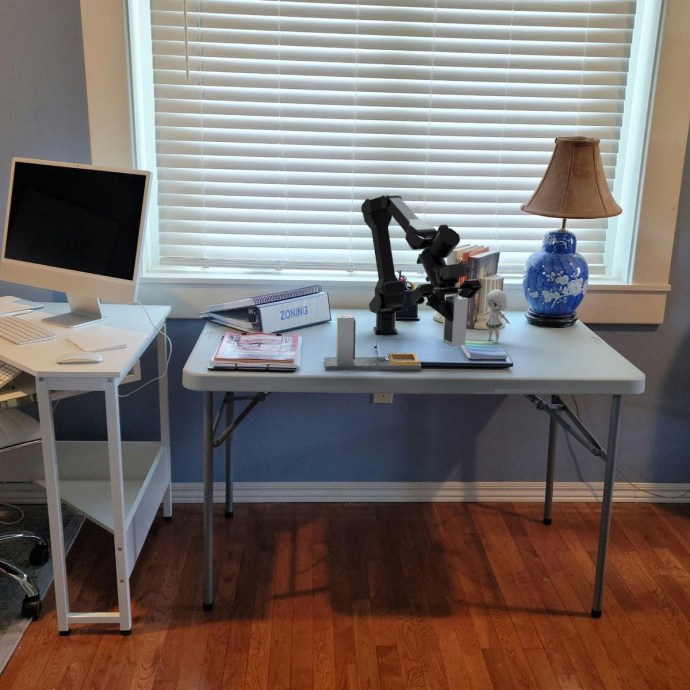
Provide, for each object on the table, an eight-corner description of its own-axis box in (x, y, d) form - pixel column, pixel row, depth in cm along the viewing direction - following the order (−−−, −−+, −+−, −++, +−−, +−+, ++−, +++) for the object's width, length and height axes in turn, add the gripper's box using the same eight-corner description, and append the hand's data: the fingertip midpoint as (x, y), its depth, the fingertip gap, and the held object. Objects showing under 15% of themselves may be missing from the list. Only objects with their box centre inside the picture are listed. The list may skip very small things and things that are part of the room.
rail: (324, 361, 200) (324, 312, 197) (416, 361, 202) (418, 312, 198) (325, 370, 193) (325, 319, 190) (420, 370, 195) (423, 319, 191)
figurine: (472, 338, 223) (476, 287, 219) (486, 335, 227) (490, 284, 222) (501, 347, 215) (505, 294, 211) (515, 343, 219) (519, 291, 215)
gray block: (442, 342, 199) (445, 296, 196) (455, 340, 201) (458, 295, 197) (451, 346, 196) (454, 300, 192) (465, 344, 197) (468, 298, 194)
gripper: (418, 252, 191) (441, 306, 184) (480, 248, 199) (504, 299, 193) (400, 278, 200) (422, 330, 193) (460, 272, 208) (482, 322, 202)
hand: (458, 319), depth 195 cm, fingers closed on gray block, 4 cm apart
